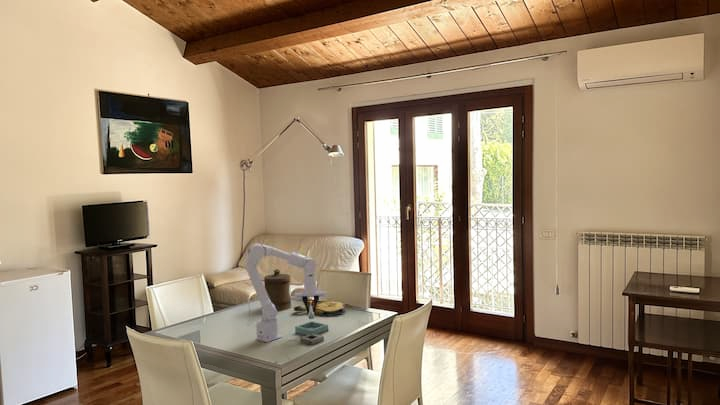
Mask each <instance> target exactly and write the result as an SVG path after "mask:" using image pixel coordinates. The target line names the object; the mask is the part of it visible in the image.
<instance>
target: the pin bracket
mask: <svg viewBox="0 0 720 405" xmlns="http://www.w3.org/2000/svg"><path fill="white" fill-rule="evenodd" d="M324 341H325V336H324V335H321V334H319V335H316V334H309V335H303V336H301V337H299V343H302V344H304V345H305V344H306V345H308V346H309V345H310V346H314V345H317V344H319V343H321V342H324Z"/></svg>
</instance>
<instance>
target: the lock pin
mask: <svg viewBox="0 0 720 405" xmlns="http://www.w3.org/2000/svg"><path fill="white" fill-rule="evenodd" d="M307 314H308V319H309V320H314V319H315V314H314V300H308V313H307Z"/></svg>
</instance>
